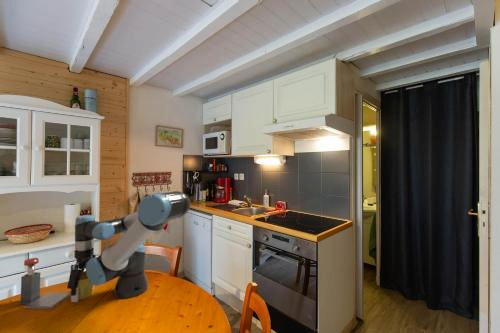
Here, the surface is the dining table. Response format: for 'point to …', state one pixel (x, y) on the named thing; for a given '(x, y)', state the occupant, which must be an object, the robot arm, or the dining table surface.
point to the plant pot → (84, 286)
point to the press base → (38, 294)
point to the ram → (31, 265)
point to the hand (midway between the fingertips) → (83, 295)
